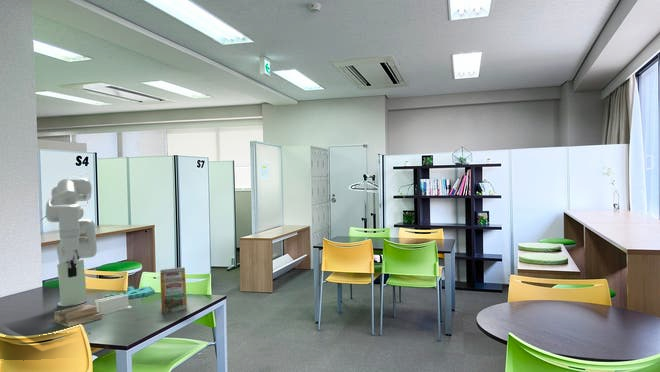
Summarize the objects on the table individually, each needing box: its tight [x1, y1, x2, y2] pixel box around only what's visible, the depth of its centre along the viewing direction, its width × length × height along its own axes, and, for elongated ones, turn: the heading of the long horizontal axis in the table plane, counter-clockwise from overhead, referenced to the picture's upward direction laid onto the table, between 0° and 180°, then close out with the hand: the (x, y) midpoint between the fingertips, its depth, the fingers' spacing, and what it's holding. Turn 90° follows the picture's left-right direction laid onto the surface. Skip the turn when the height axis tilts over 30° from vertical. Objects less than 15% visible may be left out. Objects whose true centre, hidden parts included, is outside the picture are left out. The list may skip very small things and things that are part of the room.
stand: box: [94, 294, 133, 315], centre depth 199 cm, size 9×13×6 cm
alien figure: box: [104, 286, 156, 300], centre depth 232 cm, size 20×2×20 cm
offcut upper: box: [63, 304, 98, 319], centre depth 182 cm, size 6×11×2 cm, turn 143°
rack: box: [53, 304, 103, 328], centre depth 184 cm, size 14×13×6 cm
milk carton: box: [159, 266, 188, 315], centre depth 199 cm, size 11×11×19 cm
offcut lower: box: [63, 312, 98, 325], centre depth 182 cm, size 6×11×2 cm, turn 143°
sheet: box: [56, 258, 88, 307], centre depth 187 cm, size 1×10×18 cm, turn 142°
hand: (71, 276), depth 187 cm, fingers closed on sheet, 1 cm apart
